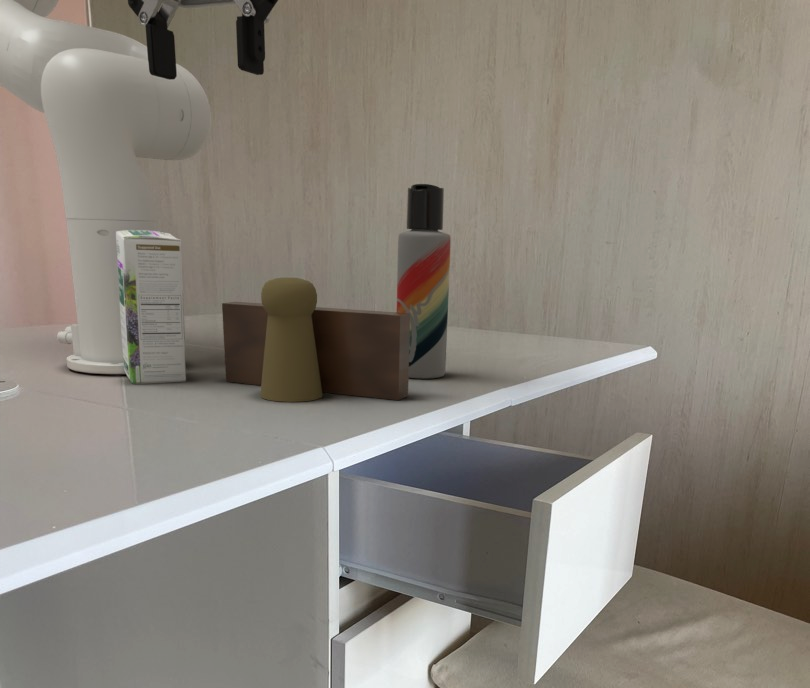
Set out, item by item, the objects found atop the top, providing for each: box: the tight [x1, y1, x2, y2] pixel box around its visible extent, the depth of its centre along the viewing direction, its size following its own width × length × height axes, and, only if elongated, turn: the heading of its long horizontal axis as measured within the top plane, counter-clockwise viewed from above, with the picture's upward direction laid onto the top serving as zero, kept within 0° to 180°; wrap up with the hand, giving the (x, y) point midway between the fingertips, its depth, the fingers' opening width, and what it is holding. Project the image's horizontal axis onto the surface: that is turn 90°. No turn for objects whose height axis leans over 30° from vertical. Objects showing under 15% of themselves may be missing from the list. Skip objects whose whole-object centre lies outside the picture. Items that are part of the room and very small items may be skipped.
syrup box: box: [116, 230, 187, 385], centre depth 86 cm, size 6×6×14 cm
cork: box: [259, 277, 324, 403], centre depth 79 cm, size 6×6×11 cm
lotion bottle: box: [396, 183, 452, 380], centre depth 91 cm, size 6×6×20 cm
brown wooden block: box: [221, 301, 410, 401], centre depth 84 cm, size 20×2×8 cm, turn 66°
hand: (206, 74), depth 76 cm, fingers open, 9 cm apart
